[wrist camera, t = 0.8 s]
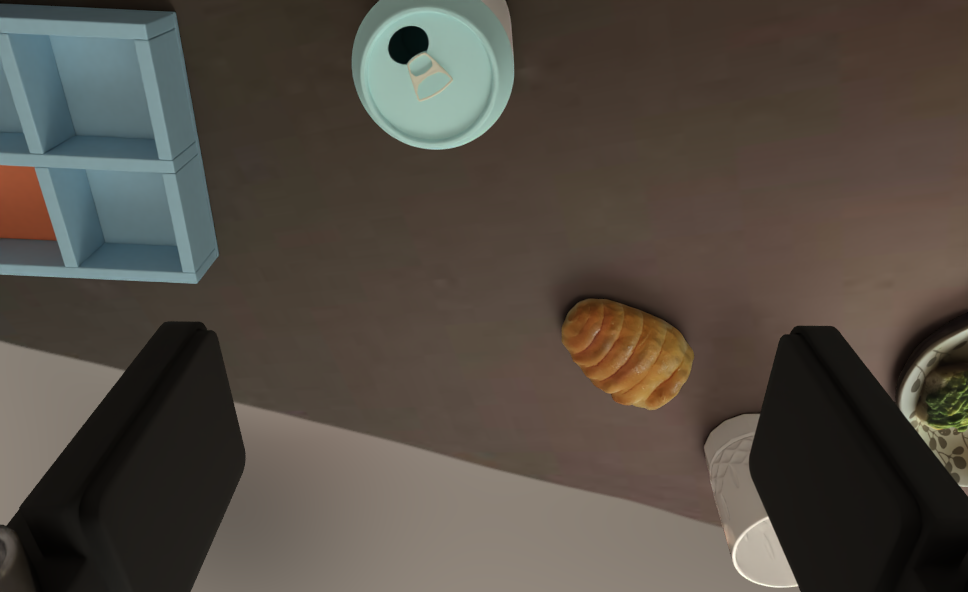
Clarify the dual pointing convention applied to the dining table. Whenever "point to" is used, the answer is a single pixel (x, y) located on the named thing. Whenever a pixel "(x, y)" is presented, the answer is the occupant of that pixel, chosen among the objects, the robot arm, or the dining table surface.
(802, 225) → the dining table surface
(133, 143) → the four compartment organizer
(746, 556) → the white cup
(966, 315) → the salad plate
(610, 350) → the pastry
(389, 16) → the can
